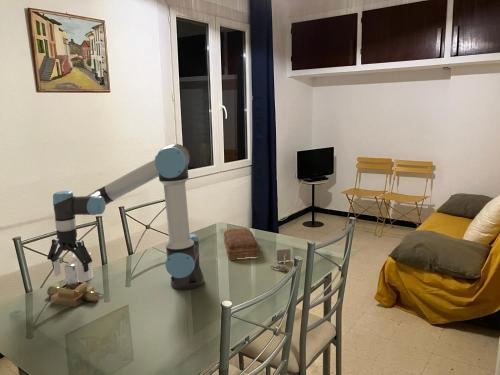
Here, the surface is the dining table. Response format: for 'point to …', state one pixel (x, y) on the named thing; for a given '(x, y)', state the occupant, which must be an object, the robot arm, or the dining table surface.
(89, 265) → the mug
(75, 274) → the pipe stub
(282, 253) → the decorative sculpture
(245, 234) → the bread
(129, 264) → the dining table surface
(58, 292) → the valve body
